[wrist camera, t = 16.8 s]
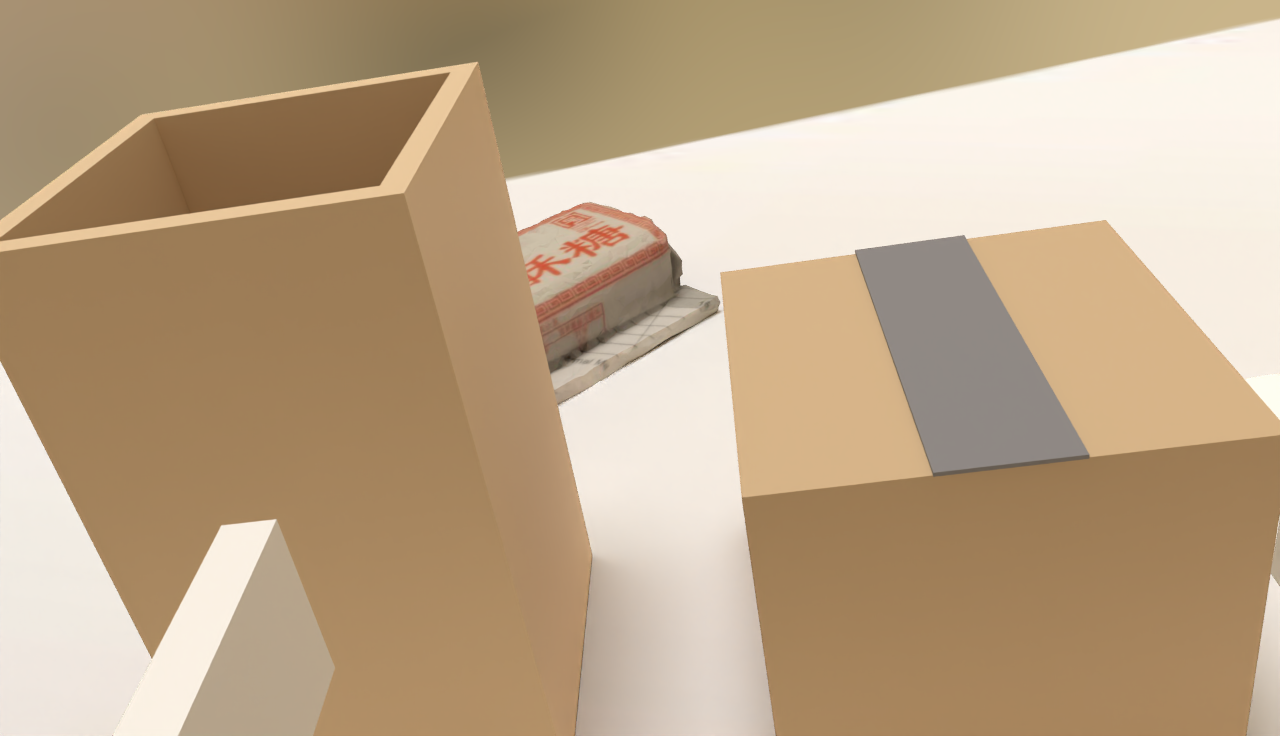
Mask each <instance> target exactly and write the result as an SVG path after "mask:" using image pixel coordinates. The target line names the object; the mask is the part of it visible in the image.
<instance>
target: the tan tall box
mask: <svg viewBox="0 0 1280 736" xmlns="http://www.w3.org/2000/svg"><path fill="white" fill-rule="evenodd" d="M0 361H1V363H2V365H3V367H4V369H5V371H6V373H7V375H8V377H9V379H10V381H11V383H12V385H13V387H14V389H15V391H16V393H17V395H18V397H19V399H20V401H21V403H22V405H23V406H24V408H25V410H26V412H27V414H28V416H29V418H30V420H31V422H32V424H33V426H34V428H35V430H36V432H37V434H38V436H39V438H40V440H41V442H42V444H43V446H44V448H45V450H46V452H47V454H48V456H49V458H50V459H51V461H52V463H53V465H54V467H55V469H56V471H57V473H58V475H59V477H60V479H61V481H62V483H63V485H64V487H65V489H66V491H67V493H68V495H69V497H70V499H71V501H72V503H73V505H74V507H75V509H76V511H77V513H78V514H79V516H80V518H81V520H82V522H83V524H84V526H85V528H86V530H87V532H88V534H89V536H90V538H91V540H92V542H93V544H94V546H95V548H96V550H97V552H98V554H99V556H100V558H101V560H102V562H103V564H104V566H105V567H106V569H107V571H108V573H109V575H110V577H111V579H112V581H113V583H114V585H115V587H116V589H117V591H118V593H119V595H120V597H121V599H122V601H123V603H124V605H125V607H126V609H127V611H128V613H129V615H130V617H131V619H132V620H133V622H134V624H135V626H136V628H137V630H138V632H139V634H140V636H141V638H142V640H143V642H144V644H145V646H146V648H147V650H148V652H149V654H150V656H151V658H153V656H154V654H155V652H156V651H157V649H158V647H159V645H160V643H161V641H162V639H163V637H164V635H165V633H166V631H167V629H168V627H169V625H170V624H171V622H172V620H173V618H174V616H175V614H176V612H177V610H178V608H179V606H180V604H181V602H182V600H183V598H184V597H185V595H186V593H187V591H188V589H189V587H190V585H191V583H192V581H193V579H194V577H195V575H196V573H197V572H198V570H199V568H200V566H201V564H202V562H203V560H204V558H205V556H206V554H207V552H208V550H209V548H210V546H211V545H212V543H213V541H214V539H215V537H216V535H217V533H218V531H219V529H220V527H221V525H230V524H239V523H248V522H257V521H265V520H274V519H277V521H278V524H279V526H280V529H281V532H282V534H283V537H284V539H285V542H286V544H287V547H288V549H289V552H290V554H291V557H292V559H293V562H294V565H295V567H296V570H297V572H298V575H299V577H300V580H301V582H302V585H303V587H304V590H305V592H306V595H307V598H308V600H309V603H310V605H311V608H312V610H313V613H314V615H315V618H316V620H317V623H318V626H319V628H320V631H321V633H322V636H323V638H324V641H325V643H326V646H327V648H328V651H329V653H330V656H331V659H332V661H333V664H334V666H335V670H334V673H333V676H332V679H331V682H330V685H329V688H328V691H327V694H326V697H325V700H324V703H323V706H322V710H321V713H320V716H319V719H318V722H317V725H316V728H315V731H314V734H313V736H575V726H576V716H577V706H578V695H579V685H580V675H581V664H582V654H583V644H584V633H585V623H586V613H587V602H588V592H589V582H590V571H591V561H592V552H591V547H590V543H589V539H588V534H587V530H586V526H585V522H584V517H583V513H582V509H581V504H580V500H579V496H578V491H577V487H576V483H575V478H574V474H573V470H572V465H571V461H570V457H569V453H568V448H567V444H566V440H565V435H564V431H563V427H562V422H561V418H560V414H559V409H558V405H557V401H556V396H555V392H554V388H553V384H552V379H551V375H550V371H549V366H548V362H547V358H546V353H545V349H544V345H543V340H542V336H541V332H540V327H539V323H538V319H537V314H536V310H535V306H534V302H533V297H532V293H531V289H530V284H529V280H528V276H527V271H526V267H525V263H524V258H523V254H522V250H521V245H520V241H519V237H518V233H517V228H516V224H515V220H514V215H513V211H512V207H511V202H510V198H509V194H508V189H507V185H506V181H505V177H504V173H503V168H502V164H501V159H500V155H499V151H498V146H497V142H496V138H495V133H494V129H493V125H492V120H491V116H490V112H489V107H488V103H487V99H486V95H485V90H484V86H483V82H482V77H481V73H480V69H479V64H478V62H475V63H468V64H462V65H455V66H449V67H443V68H436V69H430V70H423V71H417V72H411V73H404V74H399V75H392V76H385V77H379V78H372V79H366V80H360V81H353V82H348V83H341V84H334V85H328V86H322V87H315V88H309V89H302V90H296V91H290V92H283V93H277V94H270V95H264V96H258V97H251V98H245V99H239V100H232V101H226V102H219V103H214V104H207V105H200V106H194V107H188V108H181V109H175V110H168V111H162V112H156V113H149V114H143V115H140V116H139V117H138V118H136V119H135V120H134V121H133V122H131V123H130V124H128V125H127V126H126V127H124V128H123V129H122V130H120V131H119V132H118V133H116V134H115V135H114V136H112V137H111V138H110V139H108V140H107V141H106V142H104V143H103V144H102V145H100V146H99V147H98V148H96V149H95V150H94V151H92V152H91V153H90V154H88V155H87V156H86V157H84V158H83V159H82V160H80V161H79V162H78V163H76V164H75V165H74V166H72V167H71V168H70V169H68V170H67V171H66V172H64V173H63V174H62V175H60V176H59V177H58V178H56V179H55V180H54V181H52V182H51V183H50V184H48V185H47V186H46V187H44V188H43V189H42V190H40V191H39V192H38V193H36V194H35V195H34V196H32V197H31V198H30V199H28V200H27V201H26V202H24V203H23V204H22V205H20V206H19V207H18V208H16V209H15V210H14V211H12V212H11V213H10V214H8V215H7V216H6V217H4V218H3V219H2V220H0Z"/></svg>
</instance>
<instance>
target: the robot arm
mask: <svg viewBox="0 0 1280 736" xmlns="http://www.w3.org/2000/svg"><path fill="white" fill-rule="evenodd" d="M1270 573H1271V574H1272V576H1273V577H1274V579H1275V580H1276V581H1277V583H1278V584H1279V586H1280V522H1279V528H1278V533H1277V539H1276V544H1275V550H1274V555H1273V561H1272V566H1271V572H1270ZM334 670H335V666H334V664H333V661H332V659H331V656H330V653H329V651H328V648H327V646H326V643H325V641H324V638H323V636H322V633H321V631H320V628H319V626H318V623H317V620H316V618H315V615H314V613H313V610H312V608H311V605H310V603H309V600H308V598H307V595H306V592H305V590H304V587H303V585H302V582H301V580H300V577H299V575H298V572H297V570H296V567H295V565H294V562H293V559H292V557H291V554H290V552H289V549H288V547H287V544H286V542H285V539H284V537H283V534H282V532H281V529H280V526H279V524H278V521H277V519H274V520H265V521H257V522H248V523H239V524H230V525H221V527H220V529H219V531H218V533H217V535H216V537H215V539H214V541H213V543H212V545H211V546H210V548H209V550H208V552H207V554H206V556H205V558H204V560H203V562H202V564H201V566H200V568H199V570H198V572H197V573H196V575H195V577H194V579H193V581H192V583H191V585H190V587H189V589H188V591H187V593H186V595H185V597H184V598H183V600H182V602H181V604H180V606H179V608H178V610H177V612H176V614H175V616H174V618H173V620H172V622H171V624H170V625H169V627H168V629H167V631H166V633H165V635H164V637H163V639H162V641H161V643H160V645H159V647H158V649H157V651H156V652H155V654H154V656H153V658H152V660H151V662H150V664H149V666H148V668H147V670H146V672H145V674H144V676H143V677H142V679H141V681H140V683H139V685H138V687H137V689H136V691H135V693H134V695H133V697H132V699H131V701H130V703H129V704H128V706H127V708H126V710H125V712H124V714H123V716H122V718H121V720H120V722H119V724H118V726H117V728H116V729H115V731H114V733H113V735H112V736H313V734H314V731H315V728H316V725H317V722H318V719H319V716H320V713H321V710H322V706H323V703H324V700H325V697H326V694H327V691H328V688H329V685H330V682H331V679H332V676H333V673H334Z"/></svg>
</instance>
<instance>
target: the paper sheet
mask: <svg viewBox="0 0 1280 736" xmlns="http://www.w3.org/2000/svg"><path fill="white" fill-rule="evenodd" d="M1244 380H1245V381H1246V382H1247V383H1248V384H1249V385H1250V386H1251V388H1252V389H1253V390H1254V391H1255V392H1256V393H1257V394H1258V396H1259V397H1260V398H1261V399H1262V400H1263V401H1264V402H1265V404H1266V405H1267V406H1268V407H1269V408H1270V409H1271V411H1272V412H1273V413H1274V414H1275V415H1276V416H1277V417H1278V419H1279V420H1280V373H1278V374H1272V375H1266V376H1259V377H1253V378H1247V379H1244Z"/></svg>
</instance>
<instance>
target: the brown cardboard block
mask: <svg viewBox="0 0 1280 736" xmlns="http://www.w3.org/2000/svg"><path fill="white" fill-rule="evenodd" d="M720 274H721V285H722V295H723V306H724V316H725V327H726V337H727V348H728V358H729V369H730V379H731V390H732V400H733V411H734V421H735V432H736V442H737V453H738V463H739V473H740V484H741V494H742V503H743V510H744V517H745V524H746V530H747V537H748V544H749V551H750V558H751V565H752V572H753V579H754V586H755V593H756V600H757V607H758V614H759V621H760V628H761V635H762V642H763V649H764V656H765V663H766V670H767V677H768V684H769V691H770V698H771V705H772V712H773V719H774V726H775V733H776V736H1246V732H1247V725H1248V719H1249V712H1250V705H1251V699H1252V692H1253V686H1254V679H1255V672H1256V666H1257V659H1258V653H1259V646H1260V639H1261V633H1262V626H1263V620H1264V613H1265V606H1266V600H1267V593H1268V587H1269V580H1270V572H1271V566H1272V560H1273V553H1274V547H1275V540H1276V534H1277V527H1278V520H1279V514H1280V420H1279V419H1278V417H1277V416H1276V415H1275V414H1274V413H1273V412H1272V411H1271V409H1270V408H1269V407H1268V406H1267V405H1266V404H1265V402H1264V401H1263V400H1262V399H1261V398H1260V397H1259V396H1258V394H1257V393H1256V392H1255V391H1254V390H1253V389H1252V388H1251V386H1250V385H1249V384H1248V383H1247V382H1246V381H1245V380H1244V378H1243V377H1242V376H1241V375H1240V374H1239V373H1238V371H1237V370H1236V369H1235V368H1234V367H1233V366H1232V365H1231V363H1230V362H1229V361H1228V360H1227V359H1226V358H1225V357H1224V355H1223V354H1222V353H1221V352H1220V351H1219V350H1218V349H1217V347H1216V346H1215V345H1214V344H1213V343H1212V342H1211V340H1210V339H1209V338H1208V337H1207V336H1206V335H1205V334H1204V332H1203V331H1202V330H1201V329H1200V328H1199V327H1198V326H1197V324H1196V323H1195V322H1194V321H1193V320H1192V319H1191V318H1190V316H1189V315H1188V314H1187V313H1186V312H1185V311H1184V309H1183V308H1182V307H1181V306H1180V305H1179V304H1178V303H1177V301H1176V300H1175V299H1174V298H1173V297H1172V296H1171V295H1170V293H1169V292H1168V291H1167V290H1166V289H1165V288H1164V286H1163V285H1162V284H1161V283H1160V282H1159V281H1158V280H1157V278H1156V277H1155V276H1154V275H1153V274H1152V273H1151V272H1150V270H1149V269H1148V268H1147V267H1146V266H1145V265H1144V264H1143V262H1142V261H1141V260H1140V259H1139V258H1138V257H1137V255H1136V254H1135V253H1134V252H1133V251H1132V250H1131V249H1130V247H1129V246H1128V245H1127V244H1126V243H1125V242H1124V241H1123V239H1122V238H1121V237H1120V236H1119V235H1118V234H1117V233H1116V231H1115V230H1114V229H1113V228H1112V227H1111V226H1110V224H1109V223H1108V222H1107V221H1106V220H1103V221H1096V222H1088V223H1081V224H1074V225H1066V226H1059V227H1052V228H1044V229H1037V230H1030V231H1022V232H1015V233H1008V234H1000V235H993V236H986V237H978V238H971V239H966V238H965V236H964V235H963V236H956V237H948V238H941V239H934V240H926V241H919V242H912V243H904V244H897V245H890V246H882V247H875V248H868V249H860V250H855V254H853V255H846V256H839V257H831V258H824V259H817V260H809V261H802V262H795V263H787V264H780V265H773V266H765V267H758V268H751V269H743V270H736V271H729V272H721V273H720Z"/></svg>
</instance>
